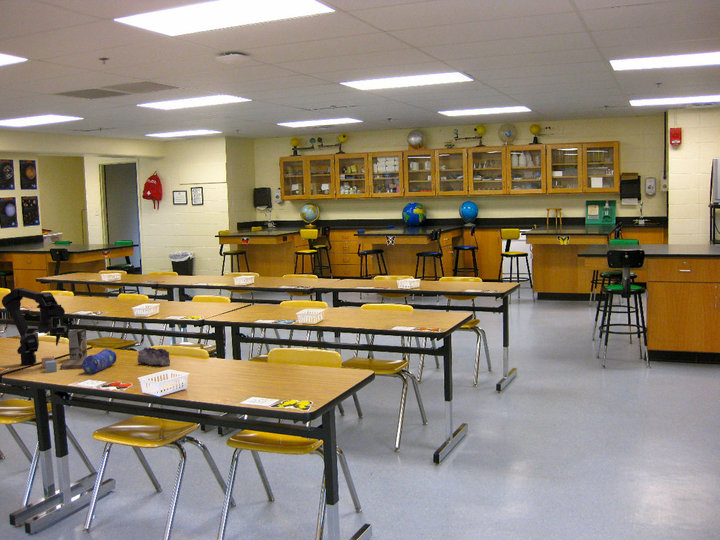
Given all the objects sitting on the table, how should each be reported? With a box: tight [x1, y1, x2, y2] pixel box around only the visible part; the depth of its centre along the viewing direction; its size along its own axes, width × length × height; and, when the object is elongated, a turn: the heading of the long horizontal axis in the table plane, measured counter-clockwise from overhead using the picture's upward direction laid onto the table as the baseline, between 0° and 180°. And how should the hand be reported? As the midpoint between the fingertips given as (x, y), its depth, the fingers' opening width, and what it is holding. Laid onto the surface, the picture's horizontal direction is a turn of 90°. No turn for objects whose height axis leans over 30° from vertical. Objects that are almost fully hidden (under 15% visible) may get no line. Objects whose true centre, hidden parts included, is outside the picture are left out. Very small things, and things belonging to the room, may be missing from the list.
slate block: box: [45, 359, 58, 374], centre depth 348 cm, size 5×5×5 cm
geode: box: [137, 347, 171, 368], centre depth 363 cm, size 20×12×10 cm, turn 62°
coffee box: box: [67, 328, 88, 361], centre depth 375 cm, size 9×6×16 cm
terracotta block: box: [41, 355, 55, 369], centre depth 359 cm, size 5×5×5 cm
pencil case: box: [81, 348, 118, 375], centre depth 351 cm, size 22×9×10 cm, turn 173°
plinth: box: [59, 359, 84, 370], centre depth 358 cm, size 12×12×2 cm
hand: (47, 346), depth 358 cm, fingers open, 9 cm apart
